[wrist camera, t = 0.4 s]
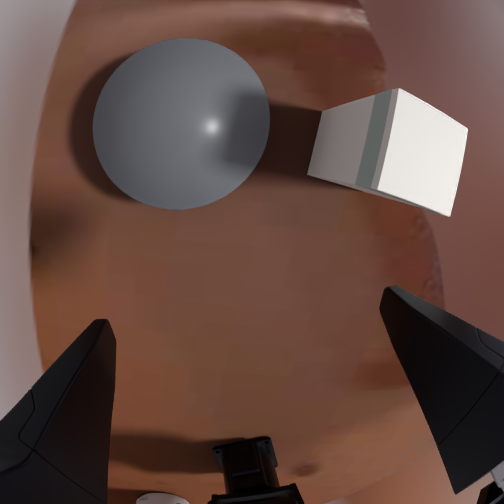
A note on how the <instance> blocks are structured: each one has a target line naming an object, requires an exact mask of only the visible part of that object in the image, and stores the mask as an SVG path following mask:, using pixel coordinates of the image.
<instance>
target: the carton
mask: <svg viewBox="0 0 504 504" xmlns="http://www.w3.org/2000/svg"><path fill="white" fill-rule="evenodd" d="M467 132H468V129H467V128H466V127H464V126H463V125H461V124H460V123H458V122H457V121H455V120H454V119H452V118H450V117H449V116H447V115H446V114H444V113H442V112H441V111H439V110H437V109H436V108H434V107H432V106H431V105H429V104H427V103H426V102H424V101H422V100H420V99H418V98H417V97H415V96H413V95H411V94H409V93H407V92H406V91H403V90H402V89H400V88H397V89H394V90H392V89H391V90H388V91H384V92H381V93H377V94H375V95H372V96H369V97H366V98H362V99H359V100H356V101H352V102H349V103H346V104H343V105H340V106H337V107H334V108H331V109H328V110H325V111H322V115H321V119H320V123H319V127H318V132H317V136H316V140H315V144H314V148H313V152H312V156H311V160H310V164H309V168H308V172H307V175H310V176H313V177H317V178H320V179H324V180H327V181H331V182H334V183H337V184H341V185H344V186H347V187H350V188H354V189H357V190H360V191H363V192H367V193H370V194H374V195H378V196H382V197H385V198H389V199H393V200H396V201H400V202H403V203H407V204H410V205H413V206H417V207H420V208H423V209H426V210H429V211H432V212H436V213H438V214H441V215H446V216H450V214H451V210H452V206H453V202H454V198H455V194H456V190H457V185H458V181H459V176H460V172H461V167H462V161H463V156H464V151H465V145H466V138H467Z"/></svg>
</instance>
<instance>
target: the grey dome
mask: <svg viewBox="0 0 504 504" xmlns="http://www.w3.org/2000/svg"><path fill="white" fill-rule="evenodd" d="M269 128H270V110H269V103H268V99H267V96H266V92H265V90H264V88H263V85H262V83H261V81H260V79H259V78H258V76H257V74H256V73H255V72H254V70H253V69H252V68H251V67H250V66H249V64H248V63H247V62H245V61H244V60H243V59H242V58H241V57H240V56H238V55H237V54H236V53H234V52H233V51H231V50H229V49H228V48H226V47H224V46H222V45H219V44H216V43H214V42H211V41H206V40H201V39H193V38H179V39H171V40H165V41H162V42H158V43H155V44H152V45H150V46H148V47H146V48H143V49H142V50H140V51H138V52H136V53H135V54H133V55H132V56H131V57H129V58H128V59H127V60H125V61H124V62H123V63H122V64H121V65H120V66H119V67H118V68H117V69H116V70H115V71H114V72H113V74H112V75H111V76H110V78H109V79H108V80H107V82H106V84H105V85H104V87H103V89H102V91H101V93H100V95H99V98H98V100H97V104H96V107H95V111H94V117H93V140H94V146H95V150H96V154H97V156H98V159H99V161H100V164H101V166H102V167H103V169H104V171H105V172H106V174H107V175H108V177H109V178H110V179H111V180H112V182H113V183H114V184H115V185H116V186H117V187H118V188H119V189H120V190H121V191H123V192H124V193H126V194H127V195H128V196H130V197H131V198H133V199H135V200H137V201H139V202H141V203H144V204H146V205H149V206H153V207H157V208H161V209H171V210H181V209H190V208H197V207H200V206H204V205H207V204H210V203H212V202H214V201H217V200H219V199H221V198H222V197H224V196H226V195H227V194H229V193H230V192H232V191H233V190H234V189H236V188H237V187H238V186H239V185H240V184H241V183H242V182H243V181H244V180H246V179H247V177H248V176H249V175H250V174H251V172H252V171H253V170H254V168H255V167H256V165H257V163H258V162H259V160H260V158H261V156H262V154H263V152H264V149H265V146H266V143H267V140H268V135H269Z"/></svg>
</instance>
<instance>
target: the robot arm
mask: <svg viewBox="0 0 504 504" xmlns="http://www.w3.org/2000/svg"><path fill="white" fill-rule="evenodd" d="M380 314H381V316H382V319H383V321H384V324H385V327H386V329H387V332H388V335H389V337H390V340H391V343H392V345H393V348H394V350H395V352H396V354H397V357H398V359H399V361H400V363H401V365H402V367H403V369H404V371H405V373H406V375H407V378H408V380H409V382H410V384H411V386H412V388H413V391H414V393H415V395H416V397H417V400H418V402H419V404H420V406H421V409H422V411H423V413H424V416H425V418H426V420H427V423H428V425H429V428H430V430H431V432H432V435H433V437H434V440H435V442H436V445H437V448H438V450H439V453H440V455H441V458H442V460H443V463H444V466H445V468H446V471H447V474H448V477H449V479H450V482H451V485H452V488H453V491H454V493H455V494H458V493H459V492H461V491H463V490H464V489H466V488H467V487H469V486H470V485H472V484H474V483H475V482H477V481H478V480H479V479H481V478H482V477H484V476H485V475H487V474H488V473H491V475H492V476H493V478H494V481H492V482H491V483H490V484H488V485H487V486H486V487H484V488H483V489H481V491H480V494H479V498H478V501H477V504H504V341H501V340H500V339H497V338H495V337H493V336H492V335H490V334H488V333H486V332H484V331H482V330H480V329H478V328H476V327H475V326H473V325H471V324H469V323H467V322H465V321H464V320H462V319H460V318H458V317H456V316H454V315H452V314H450V313H448V312H447V311H445V310H443V309H441V308H439V307H437V306H435V305H433V304H431V303H429V302H427V301H426V300H424V299H422V298H420V297H418V296H416V295H414V294H412V293H410V292H408V291H406V290H404V289H402V288H400V287H398V286H389V287H386V288H385V289H384V292H383V295H382V299H381V303H380ZM115 370H116V338H115V335H114V333H113V330H112V328H111V325H110V323H109V321H108V320H107V319H96V320H94V321H93V322H92V323H91V324H90V325H89V326H88V327H87V328H86V329H85V330H84V331H83V332H82V333H81V334H80V335H79V336H78V337H77V339H76V340H75V341H74V342H73V343H72V344H71V345H70V346H69V347H68V348H67V349H66V350H65V351H64V352H63V353H62V354H61V356H60V357H59V358H58V359H57V360H56V361H55V362H54V363H53V364H52V365H51V366H50V367H49V369H48V370H47V371H46V372H45V373H44V374H43V375H42V376H41V377H40V379H39V380H38V381H37V382H36V383H35V384H34V385H33V387H32V388H31V389H32V390H31V389H30V390H29V391H28V392H27V393H26V394H25V395H24V397H23V398H22V399H21V400H20V401H19V402H18V403H17V404H16V405H15V406H14V407H13V408H12V410H11V411H10V412H9V413H8V414H7V415H6V416H5V417H4V418H3V419H2V420H1V421H0V504H107V482H108V459H109V443H110V431H111V420H112V410H113V401H114V392H115ZM213 454H214V456H215V458H216V460H217V462H218V464H219V465H220V467H221V469H222V471H223V475H224V483H225V490H226V494H222V495H217V494H213V495H212V500H211V501H209V502H208V504H304V501H303V499H302V497H301V495H300V493H299V490H298V488H297V486H296V484H295V483H293V484H290V485H286V486H281V487H280V485H279V481H278V477H277V474H276V470H275V468H276V467H277V466H278V464H277V460H276V457H275V453H274V449H273V445H272V441H271V438H270V437H264V438H260V439H255V440H251V441H246V442H241V443H236V444H231V445H225V446H219V447H214V448H213Z"/></svg>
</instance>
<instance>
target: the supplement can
mask: <svg viewBox="0 0 504 504" xmlns="http://www.w3.org/2000/svg"><path fill="white" fill-rule="evenodd" d="M136 504H190V503H188V502H187V501H186V500H185V499H184V498H181V497H179V496H176V495H172V494H167V493H149V494H145V495H143V496H142V497H140V498H138V499H137V501H136Z"/></svg>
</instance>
